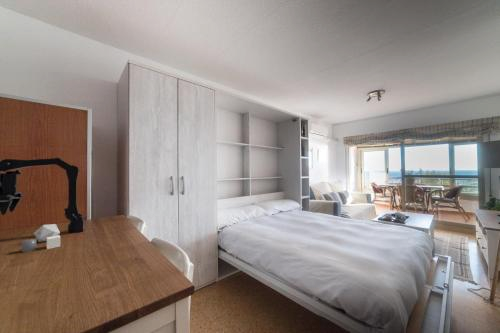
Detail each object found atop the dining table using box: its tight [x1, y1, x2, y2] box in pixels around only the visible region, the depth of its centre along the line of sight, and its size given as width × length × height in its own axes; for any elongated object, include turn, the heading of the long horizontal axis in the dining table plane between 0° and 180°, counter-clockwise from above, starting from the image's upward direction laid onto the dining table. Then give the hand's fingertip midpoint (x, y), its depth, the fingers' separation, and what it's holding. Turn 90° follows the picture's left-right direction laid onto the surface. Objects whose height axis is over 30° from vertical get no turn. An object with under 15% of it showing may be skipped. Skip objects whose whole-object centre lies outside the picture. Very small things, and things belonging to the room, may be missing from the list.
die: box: [33, 223, 61, 243], centre depth 105 cm, size 8×9×10 cm
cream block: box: [46, 234, 62, 250], centre depth 96 cm, size 4×4×4 cm
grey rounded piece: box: [21, 238, 38, 253], centre depth 91 cm, size 4×4×4 cm
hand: (7, 213), depth 104 cm, fingers open, 9 cm apart
